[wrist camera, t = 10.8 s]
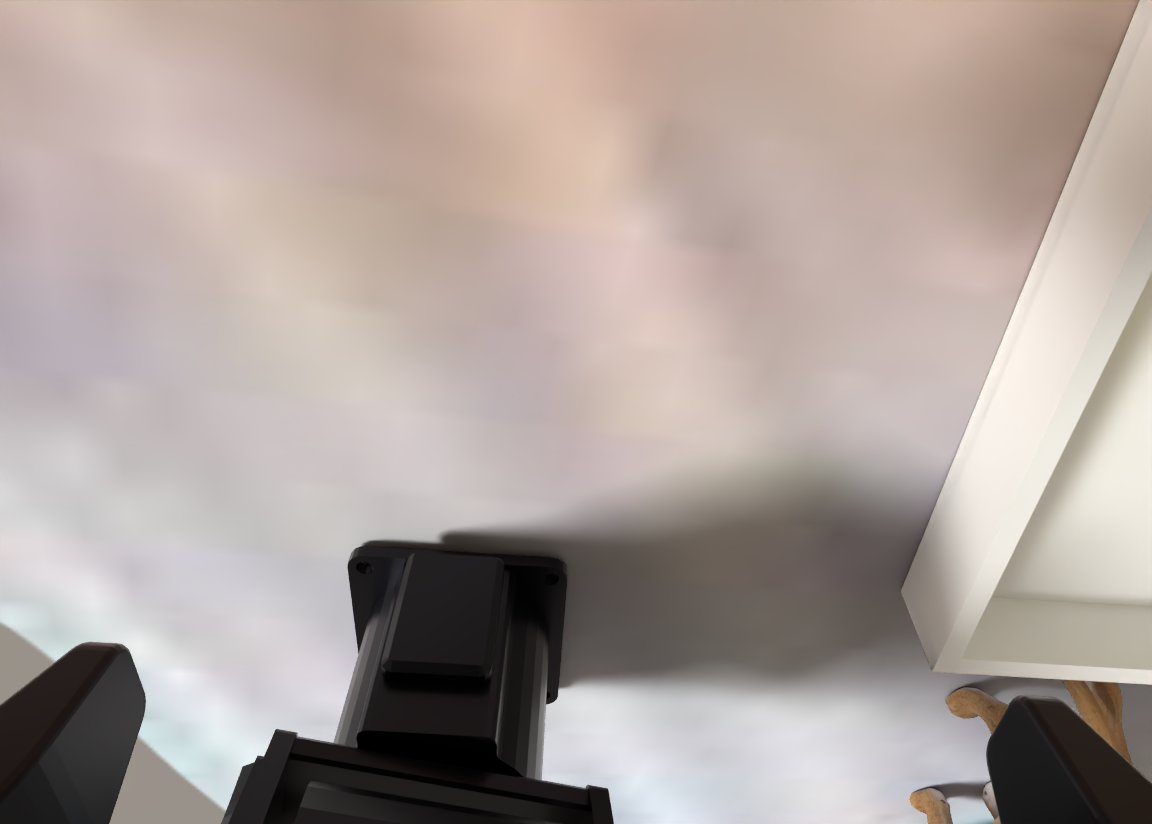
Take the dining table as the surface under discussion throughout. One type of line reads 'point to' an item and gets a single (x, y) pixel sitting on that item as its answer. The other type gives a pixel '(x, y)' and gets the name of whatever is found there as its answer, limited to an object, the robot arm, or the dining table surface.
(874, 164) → the dining table surface
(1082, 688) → the lion figurine
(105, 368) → the dining table surface
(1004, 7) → the dining table surface
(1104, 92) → the tray
